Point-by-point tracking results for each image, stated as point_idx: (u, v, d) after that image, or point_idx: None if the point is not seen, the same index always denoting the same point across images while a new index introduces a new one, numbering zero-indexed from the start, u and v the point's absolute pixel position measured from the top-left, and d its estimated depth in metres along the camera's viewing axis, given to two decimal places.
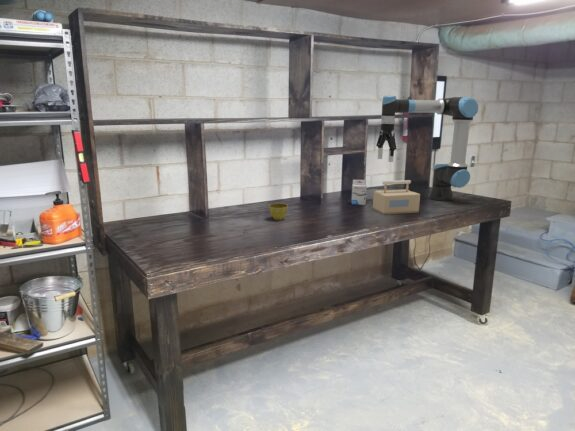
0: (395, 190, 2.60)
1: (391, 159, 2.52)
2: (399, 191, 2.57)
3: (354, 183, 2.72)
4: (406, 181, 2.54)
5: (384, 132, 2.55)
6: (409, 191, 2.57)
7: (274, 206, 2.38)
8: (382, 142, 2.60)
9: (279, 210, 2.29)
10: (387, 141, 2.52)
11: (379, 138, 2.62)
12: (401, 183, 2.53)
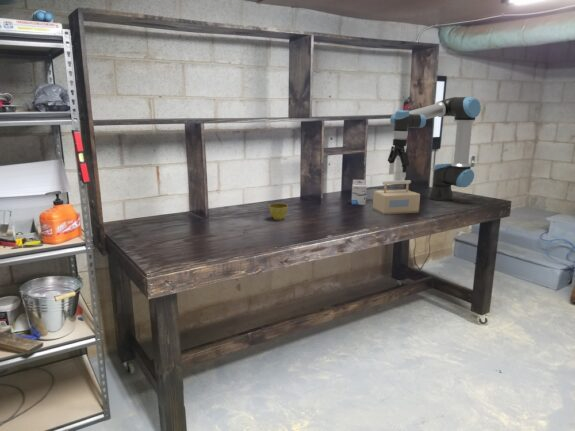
0: (395, 190, 2.60)
1: (403, 175, 2.45)
2: (399, 191, 2.57)
3: (354, 183, 2.72)
4: (406, 181, 2.54)
5: (396, 147, 2.49)
6: (409, 191, 2.57)
7: (274, 206, 2.38)
8: (394, 157, 2.54)
9: (279, 210, 2.29)
10: None
11: (391, 153, 2.55)
12: (401, 183, 2.53)
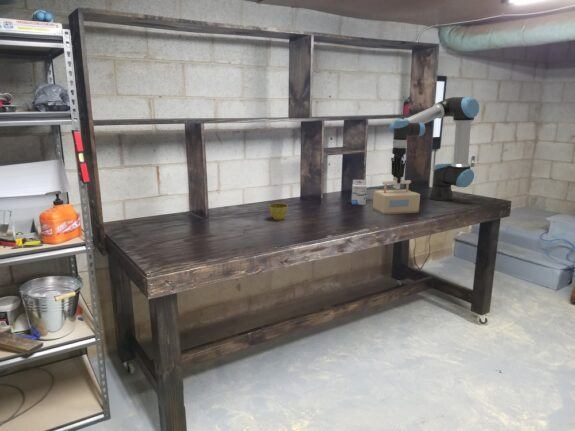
0: (395, 190, 2.60)
1: (398, 186, 2.52)
2: (399, 191, 2.57)
3: (354, 183, 2.72)
4: (406, 181, 2.54)
5: None
6: (409, 191, 2.57)
7: (274, 206, 2.38)
8: (396, 168, 2.52)
9: (279, 210, 2.29)
10: (397, 166, 2.49)
11: (392, 165, 2.54)
12: (401, 183, 2.53)
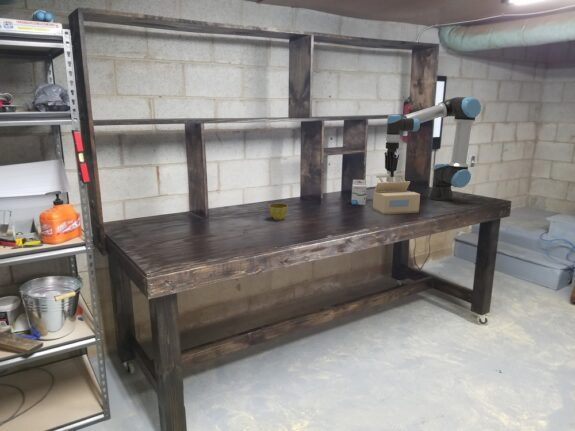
0: None
1: (391, 180, 2.59)
2: None
3: (354, 183, 2.72)
4: None
5: (388, 148, 2.58)
6: None
7: (274, 206, 2.38)
8: (389, 162, 2.60)
9: (279, 210, 2.29)
10: (390, 160, 2.57)
11: (386, 159, 2.62)
12: (394, 175, 2.60)
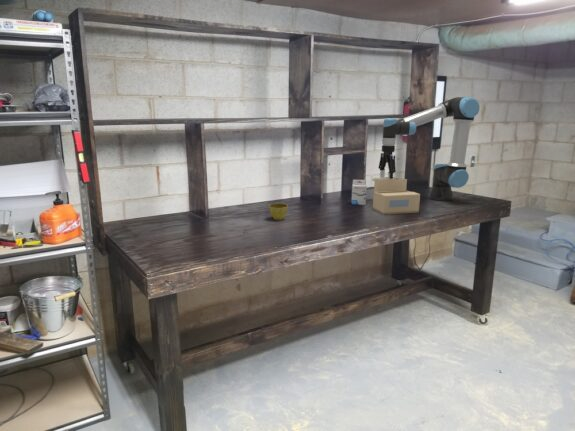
0: None
1: None
2: None
3: (354, 183, 2.72)
4: (394, 177, 2.67)
5: (385, 153, 2.62)
6: None
7: (274, 206, 2.38)
8: (384, 164, 2.67)
9: (279, 210, 2.29)
10: None
11: (380, 160, 2.68)
12: None
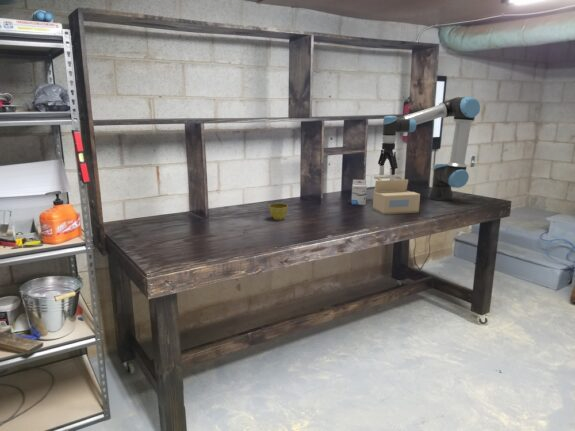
0: None
1: (392, 177, 2.58)
2: None
3: (354, 183, 2.72)
4: None
5: (385, 151, 2.62)
6: None
7: (274, 206, 2.38)
8: (383, 160, 2.67)
9: (279, 210, 2.29)
10: None
11: (380, 156, 2.68)
12: None
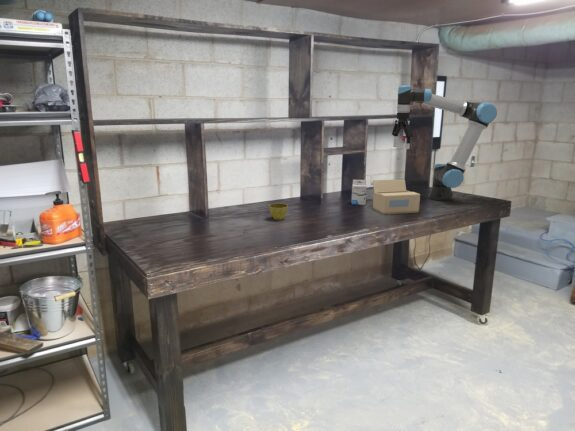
0: None
1: (407, 146, 2.62)
2: None
3: (354, 183, 2.72)
4: None
5: (400, 121, 2.66)
6: None
7: (274, 206, 2.38)
8: (398, 130, 2.71)
9: (279, 210, 2.29)
10: None
11: (395, 127, 2.72)
12: None
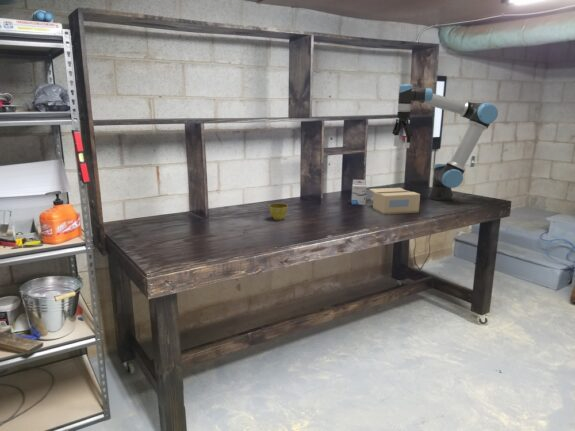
0: None
1: (407, 145, 2.63)
2: None
3: (354, 183, 2.72)
4: None
5: (400, 120, 2.66)
6: None
7: (274, 206, 2.38)
8: (398, 129, 2.71)
9: (279, 210, 2.29)
10: None
11: (395, 126, 2.73)
12: None
